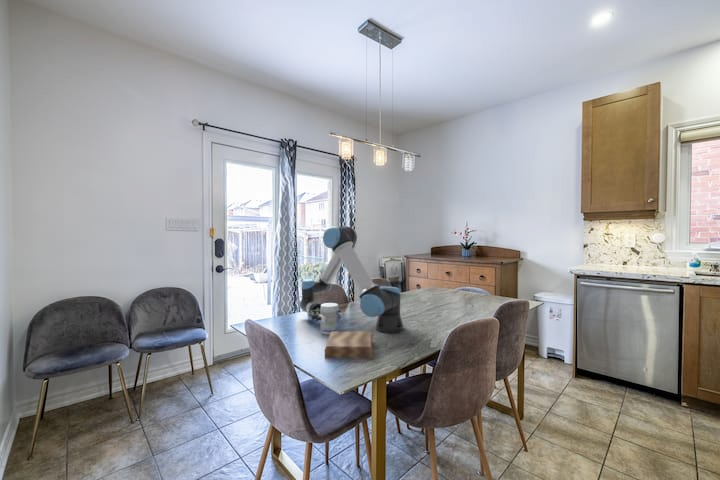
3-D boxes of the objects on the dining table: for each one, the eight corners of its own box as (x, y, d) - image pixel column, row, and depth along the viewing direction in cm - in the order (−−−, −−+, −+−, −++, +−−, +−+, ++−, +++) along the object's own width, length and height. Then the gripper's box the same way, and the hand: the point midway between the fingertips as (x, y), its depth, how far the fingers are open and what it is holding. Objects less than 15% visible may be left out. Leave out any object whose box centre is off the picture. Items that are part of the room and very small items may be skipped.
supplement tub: (340, 334, 160) (341, 306, 159) (323, 336, 156) (323, 307, 156) (335, 328, 169) (335, 301, 168) (318, 330, 166) (318, 303, 165)
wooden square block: (371, 341, 149) (371, 331, 149) (372, 358, 129) (372, 347, 129) (330, 341, 150) (330, 331, 149) (324, 358, 130) (324, 346, 129)
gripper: (332, 312, 184) (351, 322, 165) (296, 318, 171) (314, 329, 153) (332, 300, 183) (351, 308, 165) (296, 305, 171) (314, 314, 152)
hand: (333, 318), depth 159 cm, fingers closed on supplement tub, 9 cm apart
